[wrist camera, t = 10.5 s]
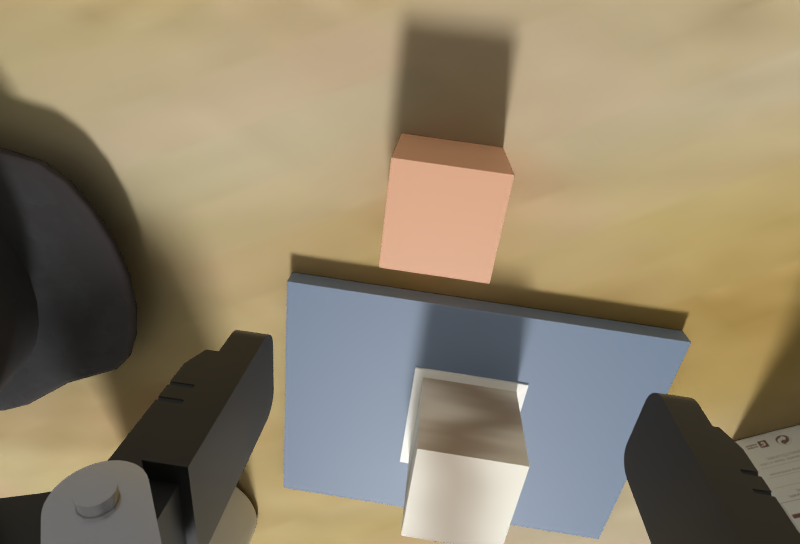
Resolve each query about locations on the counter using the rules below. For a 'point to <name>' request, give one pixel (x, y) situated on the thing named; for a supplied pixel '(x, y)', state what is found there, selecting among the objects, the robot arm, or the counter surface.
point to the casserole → (56, 285)
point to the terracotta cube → (445, 207)
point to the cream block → (464, 464)
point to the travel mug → (236, 521)
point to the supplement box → (778, 466)
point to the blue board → (470, 364)
